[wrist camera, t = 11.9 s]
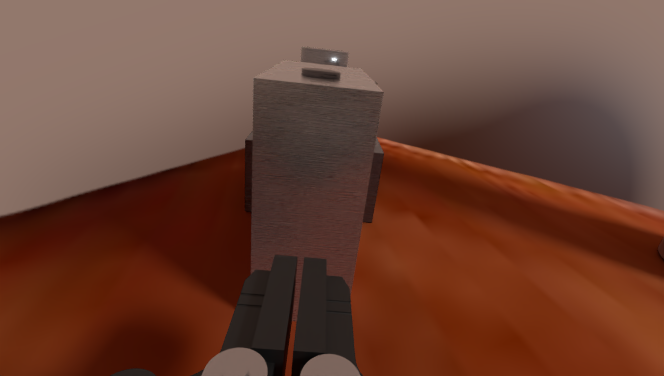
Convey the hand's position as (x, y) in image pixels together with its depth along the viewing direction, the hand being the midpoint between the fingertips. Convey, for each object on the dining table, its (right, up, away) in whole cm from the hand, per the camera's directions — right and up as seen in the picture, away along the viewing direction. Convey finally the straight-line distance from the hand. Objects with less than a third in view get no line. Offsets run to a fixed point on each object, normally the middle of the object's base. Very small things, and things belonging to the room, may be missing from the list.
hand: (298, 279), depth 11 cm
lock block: (-1, -2, +12) cm, 12 cm away
